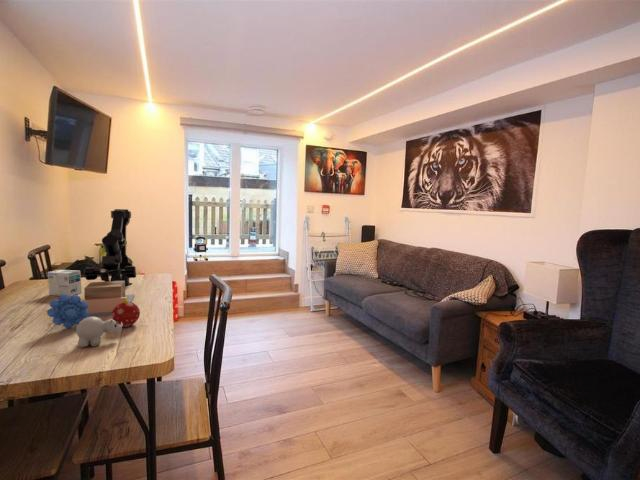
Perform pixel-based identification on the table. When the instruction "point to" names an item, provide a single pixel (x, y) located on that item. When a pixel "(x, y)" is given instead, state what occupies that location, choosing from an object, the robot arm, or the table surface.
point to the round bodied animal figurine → (95, 330)
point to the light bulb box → (64, 282)
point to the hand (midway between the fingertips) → (108, 289)
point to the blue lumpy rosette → (68, 310)
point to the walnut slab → (104, 290)
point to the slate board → (129, 298)
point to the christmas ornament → (126, 313)
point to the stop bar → (103, 304)
